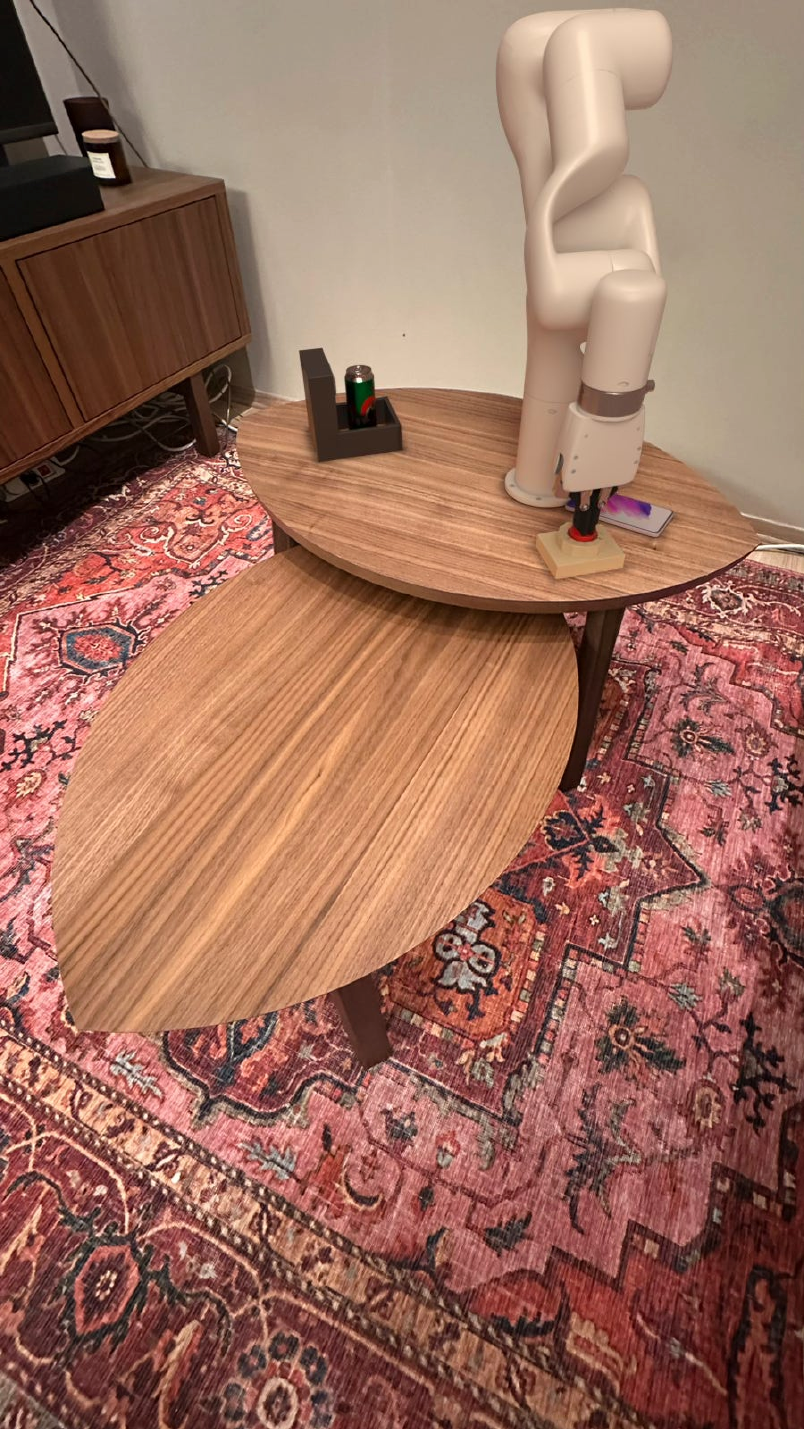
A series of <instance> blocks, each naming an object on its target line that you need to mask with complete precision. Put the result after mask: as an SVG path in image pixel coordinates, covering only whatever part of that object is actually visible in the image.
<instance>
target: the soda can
mask: <svg viewBox="0 0 804 1429" xmlns="http://www.w3.org/2000/svg"><path fill="white" fill-rule="evenodd" d="M343 380H344V391H345V402H346V404H347V416H348V427H349V428H348V430H354V429H361V428H369V427H376V426H378V424H377V415H376V398H377V397H376V384H375V383H376V382H375V374H374V372H373V370H372V367H370V366H369V365H367V364H354V365H351V366H349V367H347V368H346V369H345V374H344V376H343Z"/></svg>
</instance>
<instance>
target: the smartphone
mask: <svg viewBox="0 0 804 1429" xmlns="http://www.w3.org/2000/svg"><path fill="white" fill-rule="evenodd" d="M590 491H591V490H590ZM575 505H576V504H575V503H574V502H573V501H572V500H569V501H568V502H567V503H566V505H564V508H565V510H567V511H569V512H571V513H574V510H575ZM674 515H675V511H674V510H672V509H670V508H666V507H663V506H659V505H656V504H653V503H649V502H646V501H642V500H639V499H635V498H632V497H629V496H626V495H622V494H618V493H615V494H614V495H612V496H611V497H610V498H609V499H608V500H607V503H606V505H605V507H603V508H601V511H600V515H599V520H598V521H601V522H604V523H606V524H611V525H614V526H617V527H620V528H623V529H626V530H629V531H633V532H636V533H639V534H643V535H646V536H649V537H652V538H658V537H660V535H661V534H662V533H663V532H664V530H665V529H666V527H667V526H668V524H669V523H670V521H671V520H672V518H674Z"/></svg>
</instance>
